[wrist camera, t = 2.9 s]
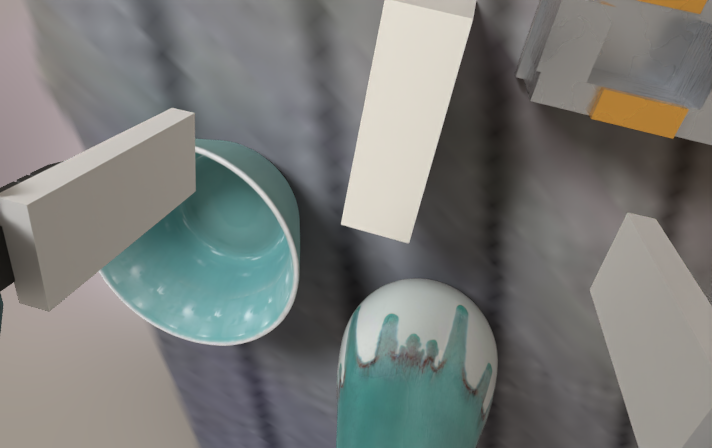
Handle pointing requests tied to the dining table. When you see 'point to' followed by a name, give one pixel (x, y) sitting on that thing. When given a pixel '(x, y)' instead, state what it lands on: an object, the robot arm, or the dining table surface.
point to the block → (405, 112)
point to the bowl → (217, 253)
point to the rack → (625, 63)
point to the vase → (415, 369)
